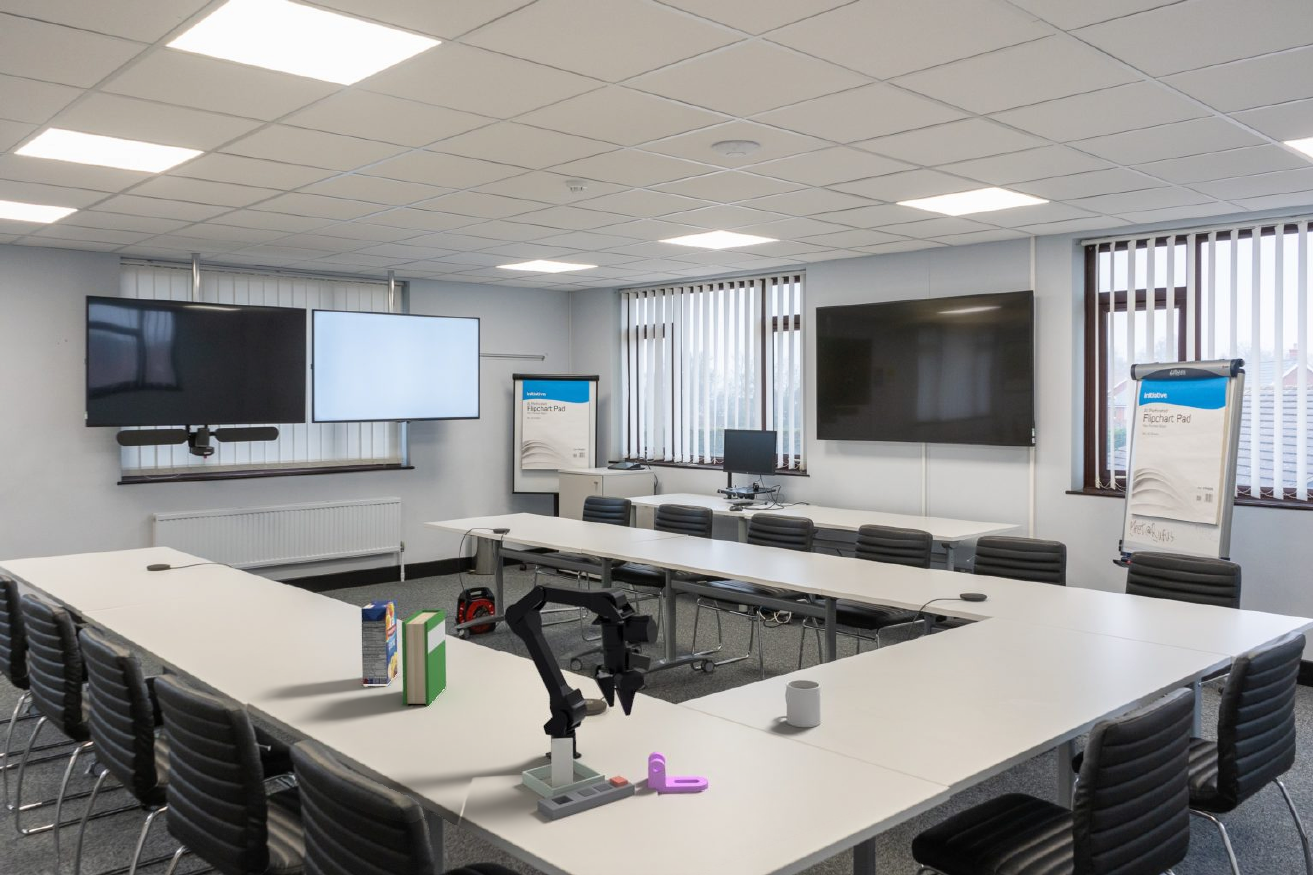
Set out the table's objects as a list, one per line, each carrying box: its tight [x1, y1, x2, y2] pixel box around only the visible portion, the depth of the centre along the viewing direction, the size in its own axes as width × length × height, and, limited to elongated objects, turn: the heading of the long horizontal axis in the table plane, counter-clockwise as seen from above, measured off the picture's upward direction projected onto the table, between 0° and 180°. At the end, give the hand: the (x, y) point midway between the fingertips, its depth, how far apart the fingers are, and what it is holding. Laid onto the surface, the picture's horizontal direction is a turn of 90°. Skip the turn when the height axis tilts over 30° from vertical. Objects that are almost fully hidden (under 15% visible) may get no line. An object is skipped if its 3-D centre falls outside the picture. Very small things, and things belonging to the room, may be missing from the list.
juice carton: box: [360, 600, 398, 685], centre depth 286 cm, size 12×8×24 cm, turn 1°
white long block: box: [550, 738, 574, 788], centre depth 196 cm, size 4×4×11 cm
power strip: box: [537, 775, 636, 821], centre depth 190 cm, size 20×6×4 cm, turn 127°
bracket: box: [647, 751, 709, 793], centre depth 200 cm, size 13×6×7 cm, turn 90°
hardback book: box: [401, 608, 447, 707], centre depth 269 cm, size 18×7×24 cm, turn 177°
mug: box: [784, 679, 822, 728], centre depth 243 cm, size 11×10×10 cm
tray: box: [521, 758, 606, 798], centre depth 200 cm, size 13×13×4 cm
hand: (619, 710), depth 213 cm, fingers open, 9 cm apart
